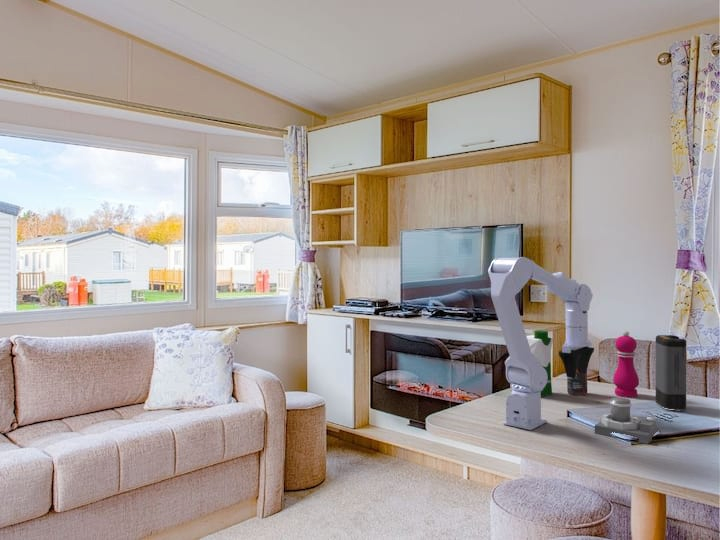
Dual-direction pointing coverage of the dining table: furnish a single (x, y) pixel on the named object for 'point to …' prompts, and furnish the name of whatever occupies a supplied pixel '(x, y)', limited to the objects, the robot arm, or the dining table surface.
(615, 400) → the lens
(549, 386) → the milk carton
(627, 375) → the pepper mill
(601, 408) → the dining table surface
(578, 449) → the dining table surface
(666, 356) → the electronic device
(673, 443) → the dining table surface
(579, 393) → the supplement bottle
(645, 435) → the grey base plate
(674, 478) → the dining table surface
